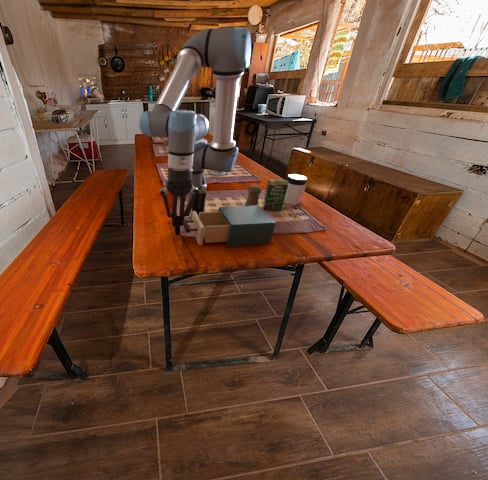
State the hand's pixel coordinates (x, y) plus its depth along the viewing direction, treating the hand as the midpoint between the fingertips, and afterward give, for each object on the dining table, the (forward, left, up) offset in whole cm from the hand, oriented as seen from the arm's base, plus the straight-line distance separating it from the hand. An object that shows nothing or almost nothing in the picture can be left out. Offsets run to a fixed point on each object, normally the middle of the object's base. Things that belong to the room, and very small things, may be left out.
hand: (177, 233), depth 90 cm
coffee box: (-20, +47, -2) cm, 51 cm away
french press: (-72, +37, -2) cm, 81 cm away
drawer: (0, +12, -1) cm, 12 cm away
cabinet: (0, +25, -2) cm, 25 cm away
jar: (-27, +60, -2) cm, 65 cm away
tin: (-16, +11, -2) cm, 20 cm away
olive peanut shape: (-20, +37, -2) cm, 42 cm away
